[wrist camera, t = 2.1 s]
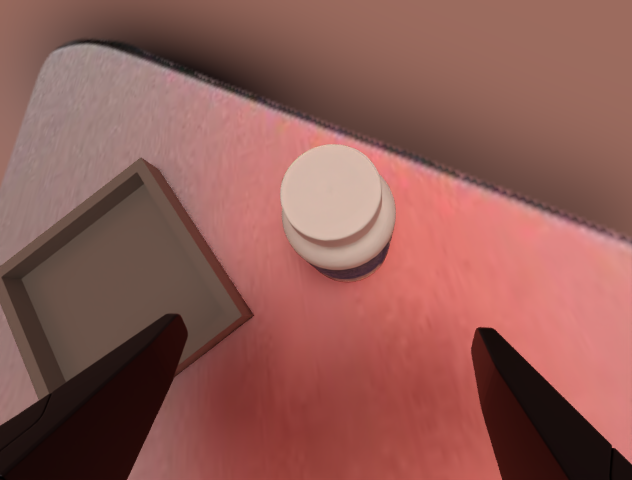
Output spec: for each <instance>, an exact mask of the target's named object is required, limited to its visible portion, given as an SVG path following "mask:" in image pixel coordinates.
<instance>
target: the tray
mask: <svg viewBox="0 0 632 480" xmlns="http://www.w3.org/2000/svg"><path fill="white" fill-rule="evenodd" d="M0 304H1V306H2V309H3V311H4V314H5V316H6V319H7V321H8V324H9V326H10V329H11V331H12V334H13V336H14V339H15V341H16V344H17V346H18V349H19V351H20V354H21V356H22V359H23V361H24V364H25V366H26V369H27V371H28V374H29V376H30V379H31V381H32V384H33V386H34V389H35V391H36V394H37V396H38V399H39V400H40V399H42V398H43V397H45V396H46V395H48V394H49V393H52V392H53V391H54V390H55V389H57V388H58V387H60V386H61V385H62V384H64V383H65V382H67V381H68V380H70V379H71V378H73V377H74V376H76V375H77V374H79V373H80V372H82V371H83V370H84V369H86V368H87V367H89V366H90V365H92V364H93V363H95V362H96V361H98V360H99V359H101V358H102V357H103V356H105V355H106V354H108V353H109V352H111V351H112V350H114V349H115V348H117V347H118V346H120V345H121V344H123V343H124V342H125V341H127V340H128V339H130V338H131V337H133V336H134V335H136V334H137V333H139V332H140V331H142V330H143V329H144V328H146V327H147V326H149V325H150V324H152V323H153V322H155V321H156V320H158V319H159V318H161V317H162V316H163V315H165V314H167V313H176V314H180V315H181V316H182V319H183V321H184V323H185V325H186V328H187V330H188V338H187V341H186V344H185V347H184V350H183V353H182V355H181V358H180V361H179V364H178V367H177V370H176V373H175V375H174V377H175V376H176V375H177V374H179V373H180V372H181V371H183V370H184V369H185V368H187V367H188V366H189V365H190V364H192V363H193V362H194V361H196V360H197V359H198V358H199V357H201V356H202V355H203V354H205V353H206V352H207V351H208V350H210V349H211V348H212V347H214V346H215V345H216V344H218V343H219V342H220V341H221V340H223V339H224V338H225V337H227V336H228V335H229V334H230V333H232V332H233V331H234V330H236V329H237V328H238V327H239V326H241V325H242V324H243V323H245V322H246V321H247V320H249V319H250V318H251V317H252V316H254V315H253V314H252V312H251V311H250V309H249V308H248V306H247V305H246V303H245V301H244V300H243V298H242V297H241V295H240V294H239V292H238V291H237V289H236V288H235V286H234V285H233V283H232V281H231V280H230V278H229V277H228V275H227V274H226V272H225V271H224V269H223V268H222V266H221V265H220V263H219V262H218V260H217V258H216V257H215V255H214V254H213V252H212V251H211V249H210V248H209V246H208V245H207V243H206V242H205V240H204V239H203V237H202V235H201V234H200V232H199V231H198V229H197V228H196V226H195V225H194V223H193V222H192V220H191V219H190V217H189V215H188V214H187V212H186V211H185V209H184V208H183V206H182V205H181V203H180V202H179V200H178V199H177V197H176V196H175V194H174V192H173V191H172V189H171V188H170V186H169V185H168V183H167V182H166V180H165V179H164V177H163V176H162V174H161V173H160V171H159V169H157V168H156V167H154V166H153V165H151V164H150V163H148V162H147V161H145V160H144V159H142V158H140V159H138V160H137V161H136V162H134V163H133V164H132V165H131V166H129V167H128V168H127V169H125V170H124V171H123V172H122V173H120V174H119V175H118V176H116V177H115V178H114V179H112V180H111V181H110V182H109V183H107V184H106V185H105V186H103V187H102V188H101V189H100V190H98V191H97V192H96V193H94V194H93V195H92V196H91V197H89V198H88V199H87V200H85V201H84V202H83V203H81V204H80V205H79V206H78V207H76V208H75V209H74V210H72V211H71V212H70V213H69V214H67V215H66V216H65V217H63V218H62V219H61V220H59V221H58V222H57V223H56V224H54V225H53V226H52V227H50V228H49V229H48V230H47V231H45V232H44V233H43V234H41V235H40V236H39V237H38V238H36V239H35V240H34V241H32V242H31V243H30V244H28V245H27V246H26V247H25V248H23V249H22V250H21V251H19V252H18V253H17V254H16V255H14V256H13V257H12V258H10V259H9V260H8V261H7V262H5V263H4V264H3V265H1V266H0Z"/></svg>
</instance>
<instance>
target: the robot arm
mask: <svg viewBox="0 0 632 480" xmlns="http://www.w3.org/2000/svg"><path fill="white" fill-rule="evenodd" d="M187 338H188V330H187V328H186V325H185V323H184V321H183V319H182V316H181V315H180V314H176V313H167V314H165V315H163V316H162V317H161V318H159V319H158V320H156V321H155V322H153V323H152V324H150V325H149V326H147V327H146V328H144V329H143V330H142V331H140V332H139V333H137V334H136V335H134V336H133V337H131V338H130V339H128V340H127V341H125V342H124V343H123V344H121V345H120V346H118V347H117V348H115V349H114V350H112V351H111V352H109V353H108V354H106V355H105V356H103V357H102V358H101V359H99V360H98V361H96V362H95V363H93V364H92V365H90V366H89V367H87V368H86V369H84V370H83V371H82V372H80V373H79V374H77V375H76V376H74V377H73V378H71V379H70V380H68V381H67V382H65V383H64V384H62V385H61V386H60V387H58V388H57V389H55V390H54V391H53V392H52V393H49V394H48V395H46V396H45V397H43V398H42V399H40V400H39V401H37V402H36V403H35V404H33V405H32V406H30V407H28V408H27V409H25V410H24V411H22V412H21V413H19V414H18V415H16V416H15V417H13V418H12V419H10V420H9V421H7V422H5V423H4V424H2V425H1V426H0V480H127V479H128V476H129V474H130V472H131V470H132V468H133V466H134V463H135V461H136V459H137V457H138V455H139V453H140V451H141V448H142V446H143V444H144V442H145V440H146V438H147V435H148V433H149V431H150V429H151V427H152V425H153V422H154V420H155V418H156V416H157V414H158V412H159V409H160V407H161V405H162V403H163V401H164V399H165V397H166V394H167V392H168V390H169V388H170V385H171V383H172V381H173V378H174V375H175V373H176V370H177V367H178V364H179V361H180V358H181V355H182V353H183V350H184V347H185V344H186V341H187ZM471 354H472V360H473V365H474V371H475V377H476V382H477V388H478V393H479V399H480V404H481V409H482V413H483V416H484V420H485V423H486V427H487V430H488V433H489V437H490V440H491V443H492V447H493V450H494V453H495V457H496V460H497V463H498V467H499V470H500V473H501V477H502V480H632V464H631V463H630V462H629V461H628V460H627V459H626V458H625V457H624V456H623V455H622V454H621V453H620V452H619V451H618V450H616V449H615V448H612V445H611V444H610V443H609V442H608V441H607V440H606V439H605V438H604V437H603V436H602V435H601V434H600V433H599V432H598V431H597V430H596V429H595V428H594V427H593V426H592V425H591V424H590V423H589V422H588V421H587V420H586V419H585V418H584V417H583V416H582V415H581V414H580V413H579V412H578V411H577V410H576V409H575V408H574V407H573V406H572V405H571V404H570V403H569V402H568V401H567V400H566V399H565V398H564V397H563V396H562V395H561V394H560V393H559V392H558V391H557V390H556V389H555V388H554V387H553V386H552V385H550V384H549V383H548V382H547V381H546V380H545V379H544V378H543V377H542V376H541V375H540V374H539V373H538V372H537V371H536V370H535V369H534V368H533V367H532V366H531V365H530V364H529V363H528V362H527V361H526V360H525V359H524V358H523V357H522V356H521V355H520V354H519V353H518V352H517V351H516V350H515V349H514V348H513V347H512V346H511V345H510V344H509V343H508V342H507V341H506V340H505V339H504V338H503V337H502V336H501V335H500V334H499V333H498V332H497V331H496V330H495V329H493V328H486V327H478V328H477V329H476V331H475V334H474V338H473V342H472V347H471Z"/></svg>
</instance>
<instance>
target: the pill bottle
mask: <svg viewBox="0 0 632 480" xmlns="http://www.w3.org/2000/svg"><path fill="white" fill-rule="evenodd" d="M280 199H281V206H282V222H283V227H284V231H285V234H286V237H287V239H288V241H289V243H290V244H291V246H292V247H293V248H294V250H295V251H296V252H297V253H298V254H299V255H300V256H301V257H302V258H303V259H305V260H306V261H307V262H308V263H310V264H311V265H312V266H313V267H315V268H316V269H317V270H318V271H319V272H320V273H322V274H324V275H325V276H327V277H329V278H331V279H334V280H337V281H342V282H353V281H358V280H362V279H364V278H366V277H368V276H370V275H371V274H373V273H374V272H375V271H376V270H377V269H378V268H379V267H380V266H381V265H382V263H383V262H384V259H385V257H386V255H387V252H388V249H389V245H390V241H391V238H392V233H393V229H394V225H395V218H396V208H395V202H394V198H393V195H392V192H391V190H390V188H389V186H388V184H387V183H386V181H385V180H384V179H383V178H382V176H381V175H380V174H379V173H378V171H377V169H376V167H375V166H374V164H373V163H372V162H371V160H370V159H369V158H368V157H367V156H365V155H364V154H363V153H361V152H360V151H358V150H356V149H354V148H351V147H349V146H345V145H338V144H328V145H322V146H318V147H315V148H312V149H310V150H308V151H306V152H305V153H303V154H302V155H300V156H299V157H298V158H297V159H296V160H295V161H294V162H293V163H292V164H291V165H290V167H289V168H288V170H287V171H286V173H285V175H284V178H283V181H282V184H281V191H280Z"/></svg>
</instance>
